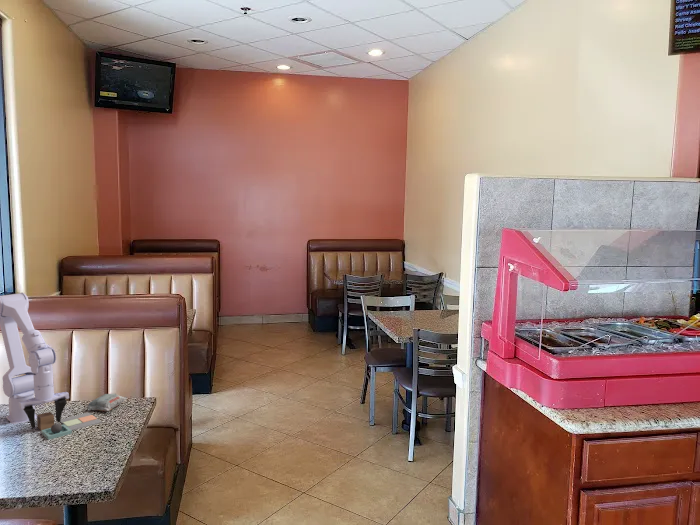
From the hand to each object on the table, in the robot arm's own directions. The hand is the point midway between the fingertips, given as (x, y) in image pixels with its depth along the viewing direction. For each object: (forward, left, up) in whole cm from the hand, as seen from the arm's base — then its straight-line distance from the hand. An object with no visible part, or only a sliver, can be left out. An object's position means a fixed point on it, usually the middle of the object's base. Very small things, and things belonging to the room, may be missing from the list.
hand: (45, 424), depth 185 cm
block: (0, 0, -2) cm, 2 cm away
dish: (+7, +1, -2) cm, 8 cm away
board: (+2, +10, -2) cm, 10 cm away
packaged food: (-5, +22, -2) cm, 23 cm away
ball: (+7, +1, -1) cm, 8 cm away
